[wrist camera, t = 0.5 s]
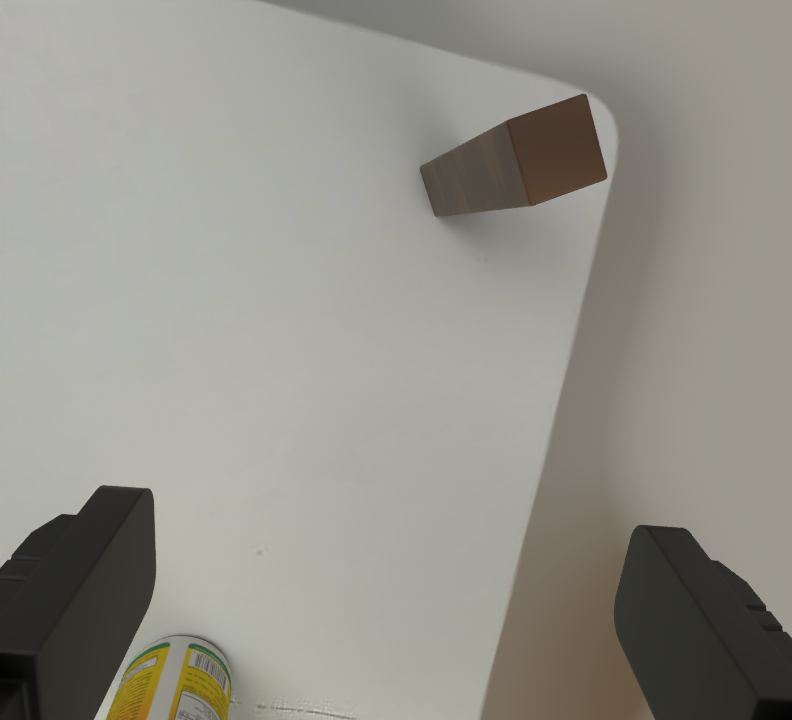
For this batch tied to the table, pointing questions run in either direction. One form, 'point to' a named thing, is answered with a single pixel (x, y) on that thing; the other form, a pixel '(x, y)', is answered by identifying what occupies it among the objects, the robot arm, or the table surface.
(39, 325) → the table surface
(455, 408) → the table surface
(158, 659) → the supplement bottle
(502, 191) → the stick
